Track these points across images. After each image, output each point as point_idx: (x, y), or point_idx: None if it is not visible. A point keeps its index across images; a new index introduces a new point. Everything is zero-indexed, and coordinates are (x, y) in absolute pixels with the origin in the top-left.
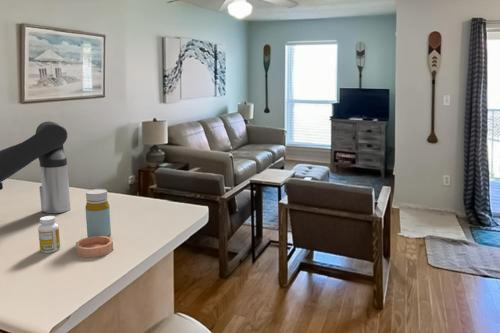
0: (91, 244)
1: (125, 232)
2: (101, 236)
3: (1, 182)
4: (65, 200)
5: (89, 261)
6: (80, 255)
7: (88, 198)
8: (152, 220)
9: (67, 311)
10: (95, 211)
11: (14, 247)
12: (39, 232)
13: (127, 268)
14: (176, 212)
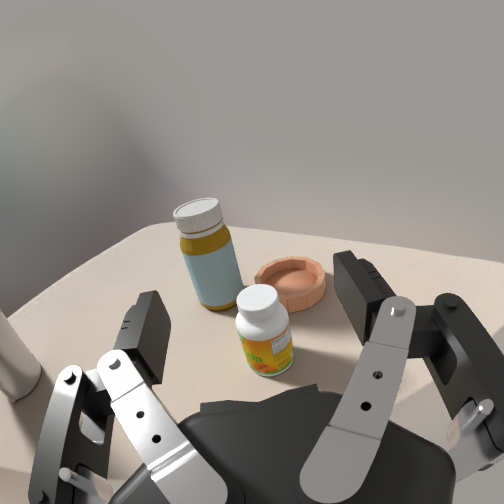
0: None
1: None
2: (259, 273)
3: (149, 291)
4: (26, 347)
5: None
6: (319, 299)
7: (211, 221)
8: (169, 255)
9: (483, 261)
10: (230, 239)
11: None
12: (279, 336)
13: (365, 244)
14: (151, 240)
